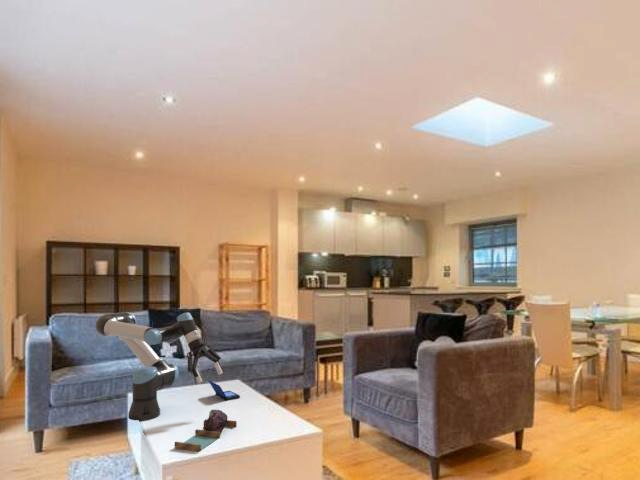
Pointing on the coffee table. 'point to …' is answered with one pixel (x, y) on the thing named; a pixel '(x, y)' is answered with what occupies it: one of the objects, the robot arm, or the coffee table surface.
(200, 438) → the marked pad
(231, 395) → the handheld game console
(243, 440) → the coffee table surface
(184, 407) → the coffee table surface
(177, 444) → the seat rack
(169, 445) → the coffee table surface
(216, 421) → the rock
